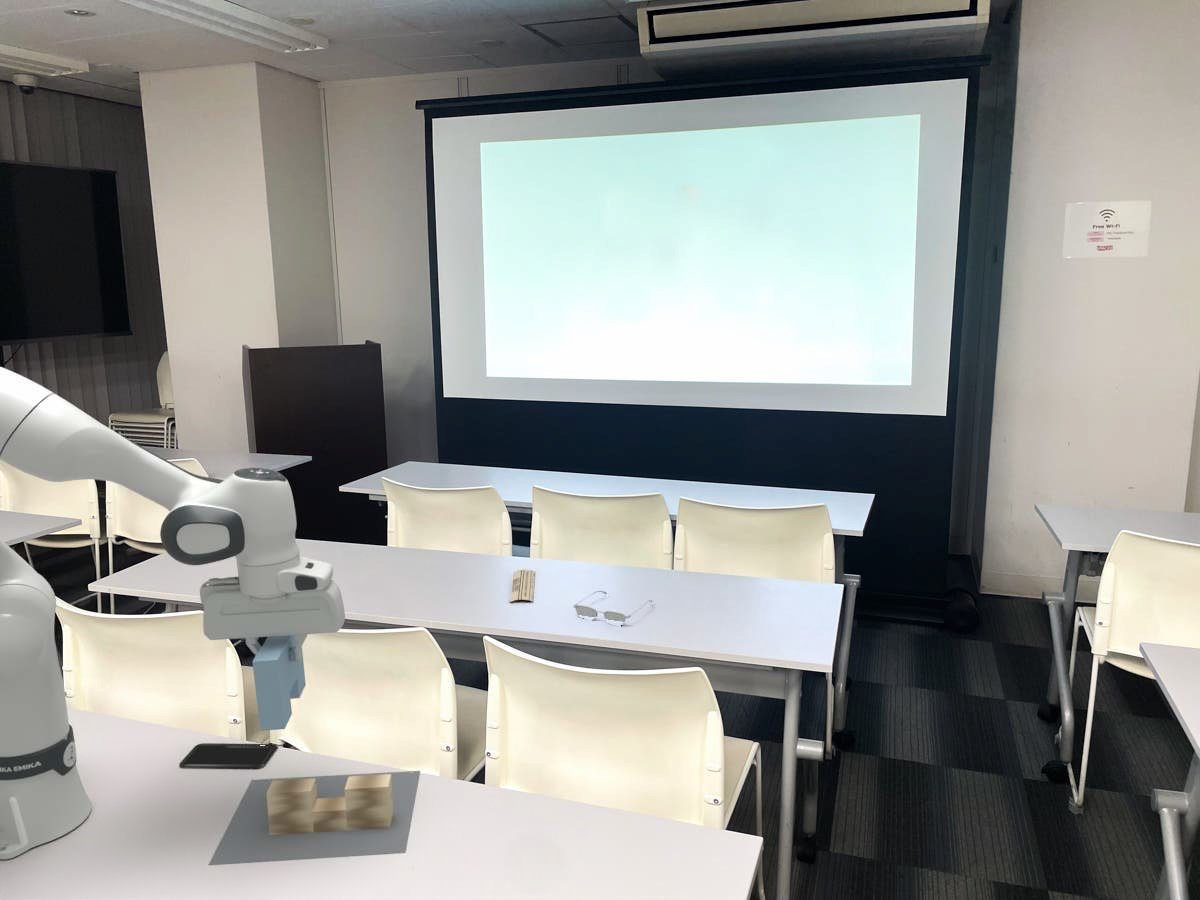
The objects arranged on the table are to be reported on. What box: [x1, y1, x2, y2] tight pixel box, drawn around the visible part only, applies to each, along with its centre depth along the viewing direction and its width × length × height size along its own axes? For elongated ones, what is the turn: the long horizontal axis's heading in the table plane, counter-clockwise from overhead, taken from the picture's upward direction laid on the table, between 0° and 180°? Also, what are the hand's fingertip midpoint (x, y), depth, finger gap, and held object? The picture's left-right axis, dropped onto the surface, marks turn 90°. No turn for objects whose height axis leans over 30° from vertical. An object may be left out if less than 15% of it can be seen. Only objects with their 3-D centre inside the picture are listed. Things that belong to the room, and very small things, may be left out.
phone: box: [178, 742, 279, 770], centre depth 157 cm, size 8×1×15 cm
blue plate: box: [252, 635, 307, 732], centre depth 136 cm, size 4×14×11 cm, turn 6°
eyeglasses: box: [572, 590, 653, 623], centre depth 225 cm, size 15×18×4 cm
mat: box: [208, 770, 421, 866], centre depth 140 cm, size 28×22×1 cm
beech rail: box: [266, 774, 393, 835], centre depth 137 cm, size 18×4×7 cm, turn 96°
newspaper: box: [509, 569, 536, 603], centre depth 242 cm, size 24×7×2 cm, turn 3°
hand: (279, 660), depth 136 cm, fingers closed on blue plate, 3 cm apart
